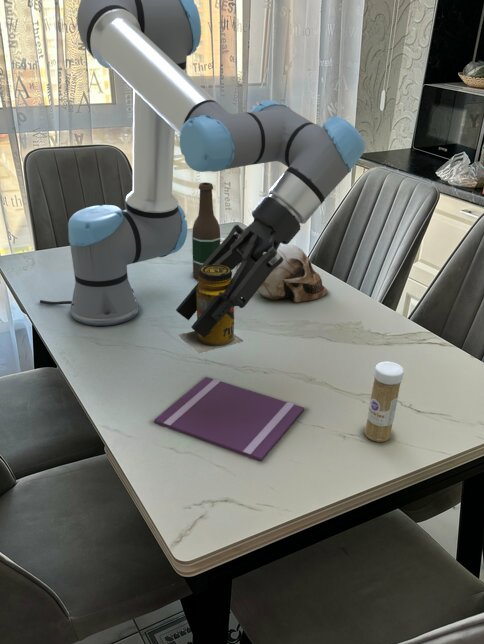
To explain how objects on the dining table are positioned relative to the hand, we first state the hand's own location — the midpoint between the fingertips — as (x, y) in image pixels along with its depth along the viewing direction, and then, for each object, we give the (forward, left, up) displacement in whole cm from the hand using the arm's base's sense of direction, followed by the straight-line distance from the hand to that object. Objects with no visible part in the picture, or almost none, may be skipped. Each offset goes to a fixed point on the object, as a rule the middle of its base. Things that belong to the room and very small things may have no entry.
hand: (189, 323), depth 96 cm
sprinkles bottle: (+30, +12, -18) cm, 37 cm away
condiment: (+2, +3, -4) cm, 5 cm away
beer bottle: (-33, +58, -18) cm, 69 cm away
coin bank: (-9, +59, -18) cm, 62 cm away
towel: (+6, +4, -18) cm, 19 cm away
